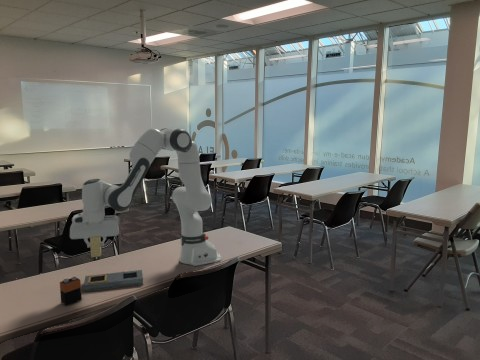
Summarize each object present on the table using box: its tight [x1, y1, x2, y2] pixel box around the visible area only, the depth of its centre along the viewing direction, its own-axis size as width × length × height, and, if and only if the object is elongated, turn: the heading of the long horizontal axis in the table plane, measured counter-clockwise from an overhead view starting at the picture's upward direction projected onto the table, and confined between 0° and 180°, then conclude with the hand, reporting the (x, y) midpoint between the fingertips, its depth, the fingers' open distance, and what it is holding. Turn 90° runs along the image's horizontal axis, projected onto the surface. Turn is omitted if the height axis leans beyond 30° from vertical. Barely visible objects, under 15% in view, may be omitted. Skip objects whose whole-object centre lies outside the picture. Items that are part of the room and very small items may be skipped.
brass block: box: [89, 236, 102, 258], centre depth 165 cm, size 4×4×9 cm
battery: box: [59, 276, 83, 306], centre depth 152 cm, size 4×7×10 cm, turn 141°
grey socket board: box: [83, 269, 144, 293], centre depth 170 cm, size 25×10×3 cm, turn 108°
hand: (95, 246), depth 165 cm, fingers closed on brass block, 4 cm apart
